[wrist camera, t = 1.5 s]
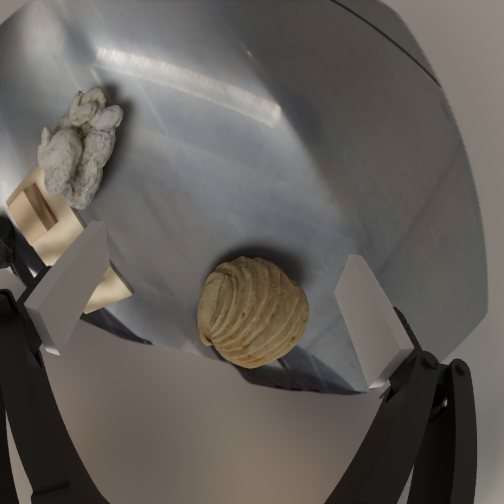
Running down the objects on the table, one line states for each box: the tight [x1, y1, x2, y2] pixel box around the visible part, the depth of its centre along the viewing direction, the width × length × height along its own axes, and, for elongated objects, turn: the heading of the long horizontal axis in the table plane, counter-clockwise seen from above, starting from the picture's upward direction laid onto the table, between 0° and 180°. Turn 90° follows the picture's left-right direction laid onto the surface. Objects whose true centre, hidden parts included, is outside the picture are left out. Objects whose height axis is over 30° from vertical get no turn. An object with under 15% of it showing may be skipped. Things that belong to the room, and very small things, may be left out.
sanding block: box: [8, 183, 58, 246], centre depth 33 cm, size 8×6×4 cm
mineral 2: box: [38, 87, 123, 210], centre depth 28 cm, size 12×17×10 cm
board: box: [6, 164, 134, 314], centre depth 39 cm, size 28×14×1 cm, turn 24°
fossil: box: [197, 256, 309, 368], centre depth 39 cm, size 15×17×15 cm
